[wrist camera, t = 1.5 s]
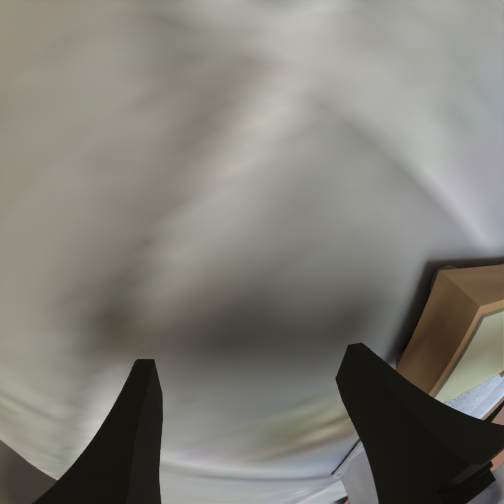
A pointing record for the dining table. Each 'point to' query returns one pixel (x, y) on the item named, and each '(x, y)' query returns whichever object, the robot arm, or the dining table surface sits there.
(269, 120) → the dining table surface
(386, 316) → the dining table surface
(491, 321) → the open box
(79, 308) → the dining table surface
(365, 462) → the robot arm
